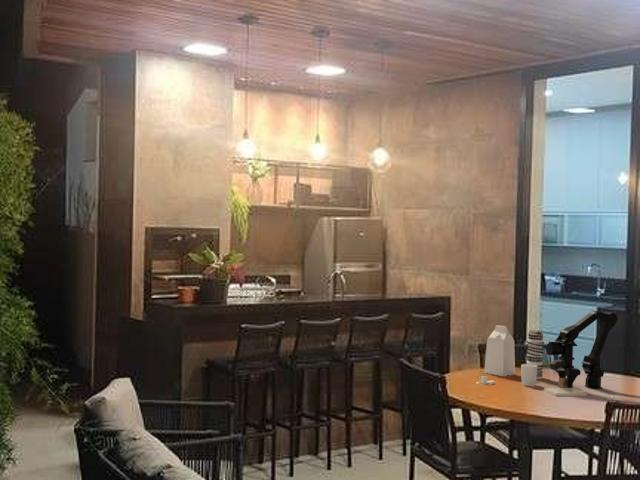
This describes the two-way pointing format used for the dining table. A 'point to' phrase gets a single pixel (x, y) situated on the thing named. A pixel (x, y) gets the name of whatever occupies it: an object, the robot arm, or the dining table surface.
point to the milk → (500, 353)
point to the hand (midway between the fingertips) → (565, 386)
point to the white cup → (528, 374)
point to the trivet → (565, 392)
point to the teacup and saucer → (485, 380)
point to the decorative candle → (535, 350)
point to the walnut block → (563, 383)
